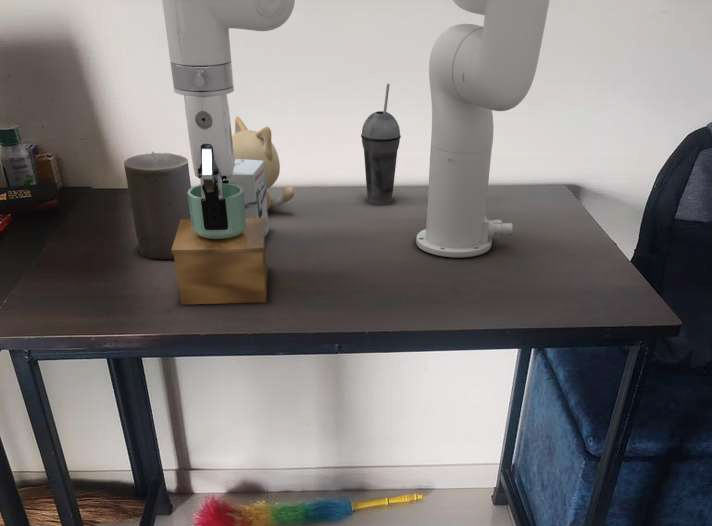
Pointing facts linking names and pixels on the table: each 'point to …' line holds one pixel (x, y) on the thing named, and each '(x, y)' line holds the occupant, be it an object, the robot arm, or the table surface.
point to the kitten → (260, 157)
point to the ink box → (252, 187)
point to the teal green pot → (233, 207)
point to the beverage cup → (380, 154)
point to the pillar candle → (158, 200)
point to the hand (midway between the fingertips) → (218, 218)
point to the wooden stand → (221, 265)
